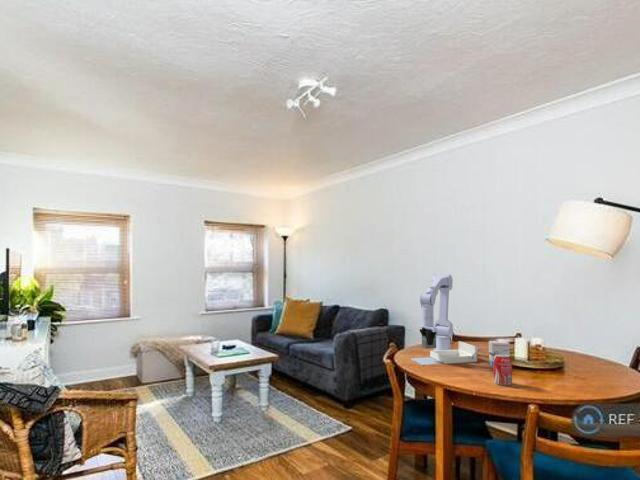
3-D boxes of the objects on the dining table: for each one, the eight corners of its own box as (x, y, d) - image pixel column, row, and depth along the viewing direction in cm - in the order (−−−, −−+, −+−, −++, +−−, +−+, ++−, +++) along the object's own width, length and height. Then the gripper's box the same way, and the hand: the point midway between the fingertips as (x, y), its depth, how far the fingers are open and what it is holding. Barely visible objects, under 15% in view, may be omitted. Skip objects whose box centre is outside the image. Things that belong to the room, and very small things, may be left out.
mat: (410, 359, 207) (410, 358, 207) (429, 358, 210) (429, 357, 210) (422, 365, 194) (422, 364, 194) (442, 364, 197) (442, 363, 197)
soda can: (496, 380, 170) (495, 352, 171) (514, 383, 166) (513, 354, 166) (491, 384, 165) (491, 355, 166) (509, 387, 160) (509, 357, 161)
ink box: (492, 367, 192) (491, 342, 192) (488, 364, 197) (488, 340, 197) (510, 367, 191) (509, 343, 192) (506, 365, 196) (506, 341, 197)
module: (421, 347, 204) (421, 335, 204) (432, 346, 205) (432, 334, 206) (425, 348, 200) (425, 336, 200) (436, 348, 201) (436, 336, 202)
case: (430, 357, 211) (429, 342, 211) (459, 355, 215) (459, 340, 216) (447, 365, 194) (447, 349, 195) (479, 363, 199) (479, 347, 199)
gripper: (414, 315, 210) (414, 341, 209) (427, 319, 196) (428, 347, 195) (426, 315, 211) (426, 341, 210) (440, 319, 197) (441, 346, 196)
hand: (428, 344), depth 203 cm, fingers closed on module, 4 cm apart
